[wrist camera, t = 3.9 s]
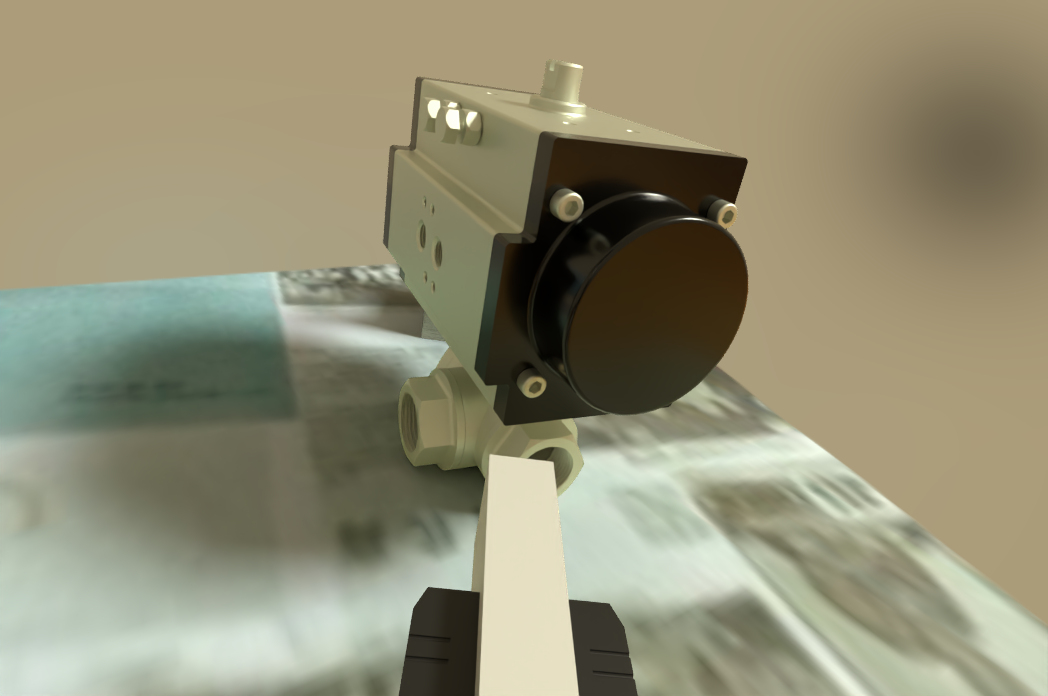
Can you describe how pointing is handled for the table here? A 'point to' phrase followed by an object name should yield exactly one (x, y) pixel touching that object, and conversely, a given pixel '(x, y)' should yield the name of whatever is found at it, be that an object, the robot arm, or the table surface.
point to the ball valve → (555, 268)
